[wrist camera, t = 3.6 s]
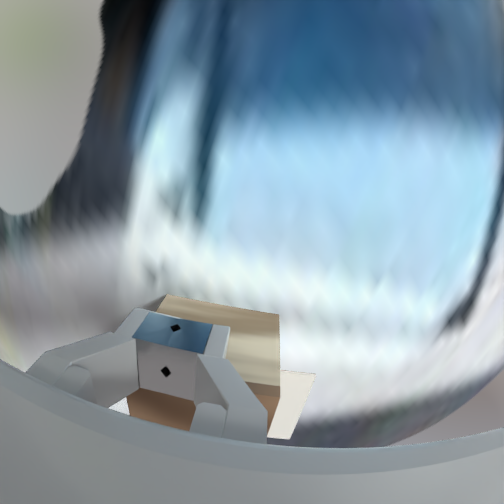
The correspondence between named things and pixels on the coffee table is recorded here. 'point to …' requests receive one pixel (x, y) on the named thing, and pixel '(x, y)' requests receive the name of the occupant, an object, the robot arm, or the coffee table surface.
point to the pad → (290, 402)
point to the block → (238, 353)
